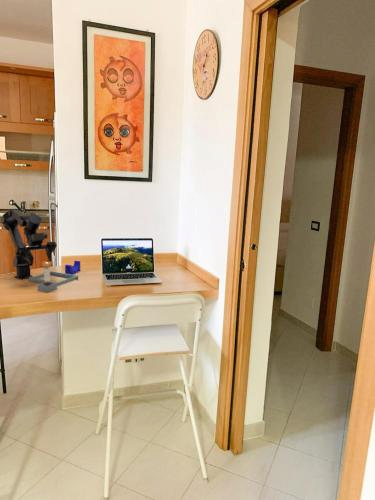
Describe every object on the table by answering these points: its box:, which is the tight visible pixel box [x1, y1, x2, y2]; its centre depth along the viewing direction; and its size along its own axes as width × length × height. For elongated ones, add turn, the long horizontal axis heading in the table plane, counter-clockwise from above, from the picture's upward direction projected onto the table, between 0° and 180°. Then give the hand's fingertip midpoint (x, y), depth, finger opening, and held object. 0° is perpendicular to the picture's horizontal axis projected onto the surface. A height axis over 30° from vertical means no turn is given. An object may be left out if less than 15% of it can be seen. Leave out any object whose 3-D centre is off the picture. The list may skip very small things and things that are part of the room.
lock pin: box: [41, 260, 52, 285], centre depth 176 cm, size 4×4×14 cm
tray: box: [28, 270, 79, 287], centre depth 194 cm, size 18×16×3 cm
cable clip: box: [64, 260, 81, 275], centre depth 214 cm, size 12×4×6 cm, turn 169°
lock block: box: [37, 281, 58, 293], centre depth 177 cm, size 6×6×4 cm
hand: (41, 262), depth 180 cm, fingers open, 9 cm apart
